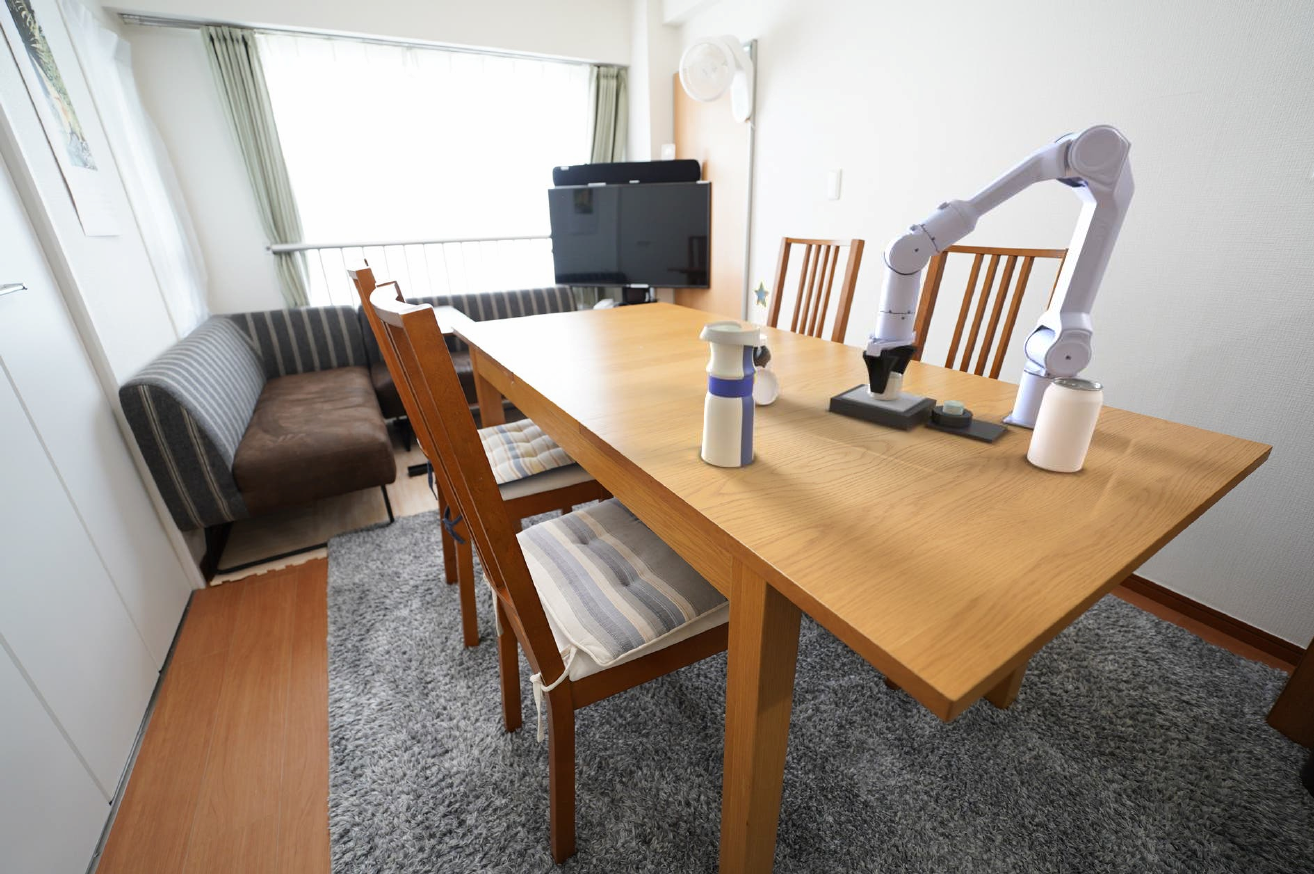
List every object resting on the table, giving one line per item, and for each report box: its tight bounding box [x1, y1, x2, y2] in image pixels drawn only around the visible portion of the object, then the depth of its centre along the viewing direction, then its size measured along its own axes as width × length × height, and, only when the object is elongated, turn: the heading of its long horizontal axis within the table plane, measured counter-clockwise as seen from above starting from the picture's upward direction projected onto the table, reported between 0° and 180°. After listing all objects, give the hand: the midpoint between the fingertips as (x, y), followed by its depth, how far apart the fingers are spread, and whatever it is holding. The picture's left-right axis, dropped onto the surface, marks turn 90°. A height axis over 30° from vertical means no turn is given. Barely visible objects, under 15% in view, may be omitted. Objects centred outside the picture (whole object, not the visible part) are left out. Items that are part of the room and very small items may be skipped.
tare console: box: [924, 404, 1008, 444], centre depth 90 cm, size 10×8×2 cm
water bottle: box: [699, 281, 770, 468], centre depth 76 cm, size 8×9×25 cm
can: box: [1026, 378, 1104, 474], centre depth 75 cm, size 6×6×12 cm
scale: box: [828, 383, 938, 432], centre depth 97 cm, size 14×12×3 cm
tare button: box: [942, 399, 965, 415], centre depth 90 cm, size 3×3×2 cm
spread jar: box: [753, 333, 780, 406], centre depth 104 cm, size 12×11×12 cm
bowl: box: [868, 371, 904, 401], centre depth 96 cm, size 5×5×4 cm
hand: (884, 388), depth 96 cm, fingers closed on bowl, 5 cm apart
